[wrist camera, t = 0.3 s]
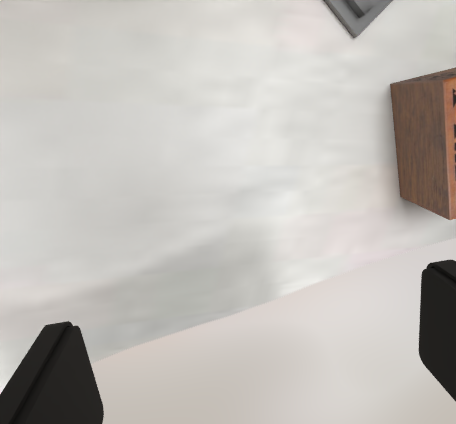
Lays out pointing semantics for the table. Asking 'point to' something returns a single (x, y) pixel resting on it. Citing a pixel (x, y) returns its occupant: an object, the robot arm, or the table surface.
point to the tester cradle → (357, 12)
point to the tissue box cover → (427, 140)
